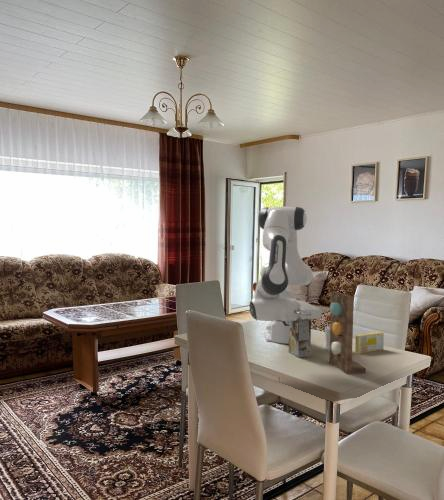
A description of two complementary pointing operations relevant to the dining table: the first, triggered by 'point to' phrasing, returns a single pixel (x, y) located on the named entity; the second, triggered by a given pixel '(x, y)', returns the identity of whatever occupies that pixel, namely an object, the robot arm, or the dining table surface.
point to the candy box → (369, 342)
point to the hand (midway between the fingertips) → (323, 309)
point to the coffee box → (300, 337)
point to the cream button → (336, 347)
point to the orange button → (337, 328)
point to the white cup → (327, 337)
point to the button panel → (344, 335)
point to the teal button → (336, 308)
